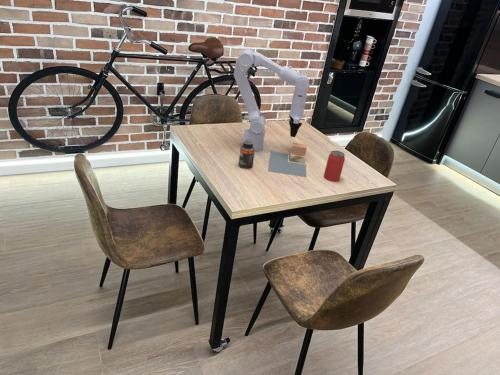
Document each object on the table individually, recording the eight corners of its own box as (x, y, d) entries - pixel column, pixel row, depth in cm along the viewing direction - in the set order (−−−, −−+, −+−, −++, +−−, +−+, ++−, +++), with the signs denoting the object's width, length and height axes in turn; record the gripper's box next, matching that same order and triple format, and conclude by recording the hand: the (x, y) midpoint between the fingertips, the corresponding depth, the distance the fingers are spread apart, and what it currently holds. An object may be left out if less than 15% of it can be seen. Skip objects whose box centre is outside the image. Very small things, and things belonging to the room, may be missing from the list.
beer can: (329, 184, 153) (336, 157, 147) (320, 176, 158) (326, 150, 152) (342, 182, 156) (349, 156, 150) (332, 175, 161) (339, 149, 155)
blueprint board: (267, 172, 155) (267, 170, 154) (270, 152, 173) (270, 150, 173) (306, 178, 154) (306, 176, 154) (304, 158, 173) (305, 156, 172)
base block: (289, 161, 166) (291, 155, 164) (290, 155, 171) (291, 149, 169) (303, 163, 165) (304, 157, 164) (303, 158, 171) (304, 151, 169)
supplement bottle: (254, 166, 159) (257, 141, 153) (249, 171, 154) (253, 146, 148) (241, 162, 160) (244, 138, 155) (236, 168, 155) (239, 142, 150)
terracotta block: (291, 154, 165) (292, 145, 163) (291, 150, 168) (293, 142, 167) (304, 156, 165) (306, 148, 163) (304, 152, 168) (306, 144, 166)
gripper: (308, 110, 156) (301, 140, 162) (307, 100, 168) (301, 129, 175) (291, 107, 156) (285, 138, 163) (291, 98, 169) (286, 127, 175)
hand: (292, 133), depth 169 cm, fingers open, 7 cm apart
